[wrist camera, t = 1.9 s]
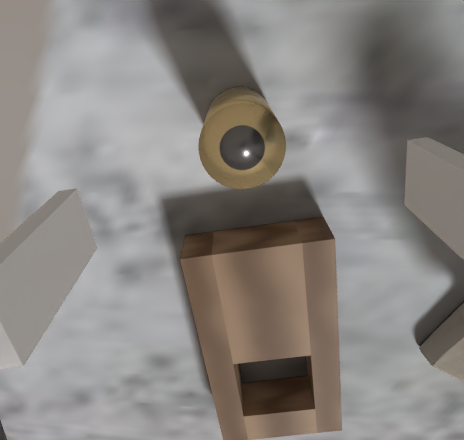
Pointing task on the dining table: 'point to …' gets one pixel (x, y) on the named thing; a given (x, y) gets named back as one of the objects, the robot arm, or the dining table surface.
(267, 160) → the bushing
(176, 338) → the dining table surface
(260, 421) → the block
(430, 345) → the sculpture
